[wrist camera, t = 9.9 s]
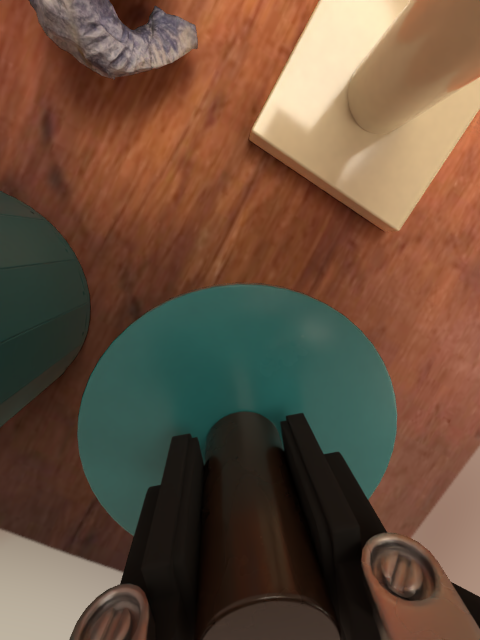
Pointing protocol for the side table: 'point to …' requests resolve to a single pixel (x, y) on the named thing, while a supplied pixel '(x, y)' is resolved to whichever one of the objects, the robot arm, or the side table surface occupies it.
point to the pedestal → (375, 100)
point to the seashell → (114, 36)
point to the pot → (36, 305)
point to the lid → (239, 440)
